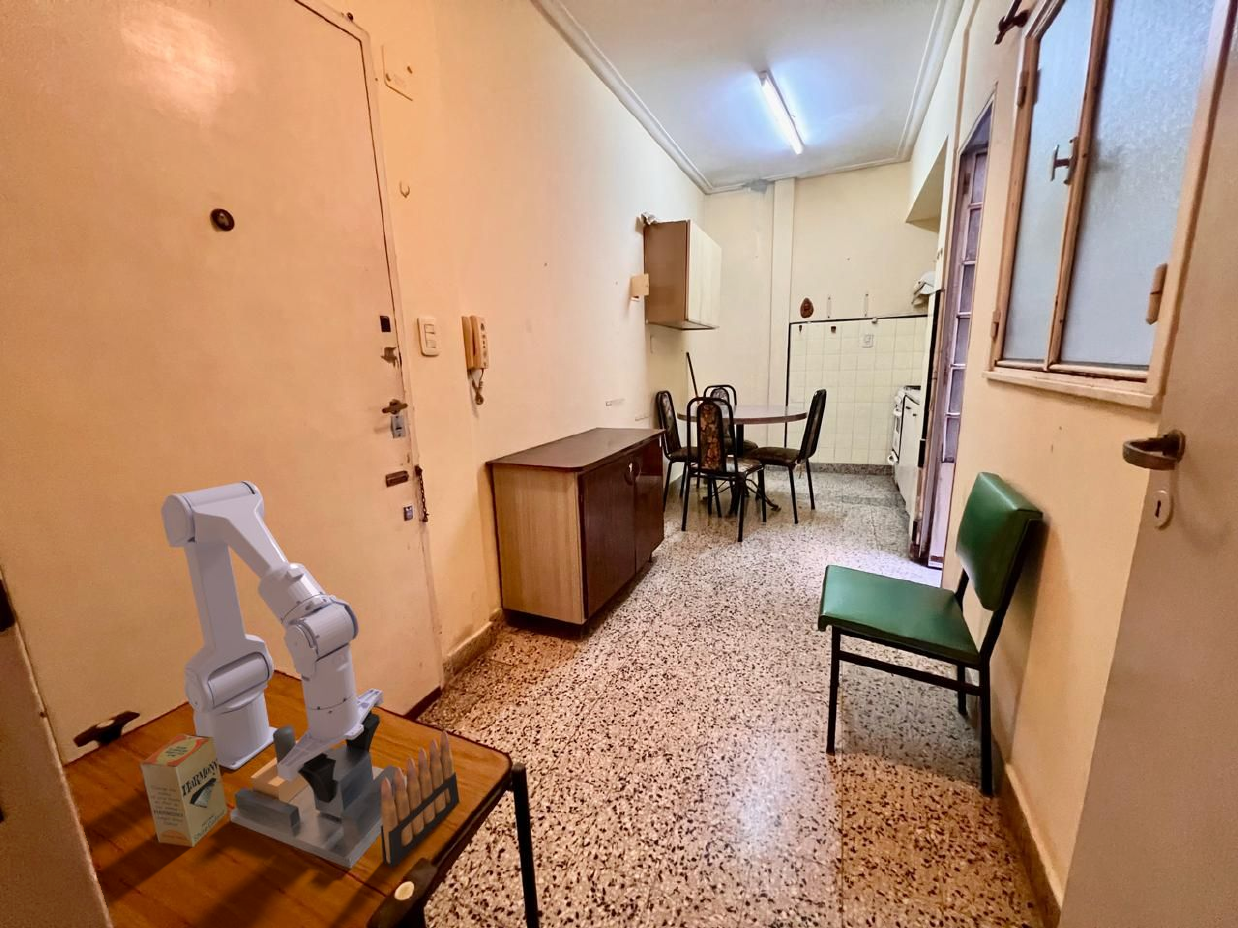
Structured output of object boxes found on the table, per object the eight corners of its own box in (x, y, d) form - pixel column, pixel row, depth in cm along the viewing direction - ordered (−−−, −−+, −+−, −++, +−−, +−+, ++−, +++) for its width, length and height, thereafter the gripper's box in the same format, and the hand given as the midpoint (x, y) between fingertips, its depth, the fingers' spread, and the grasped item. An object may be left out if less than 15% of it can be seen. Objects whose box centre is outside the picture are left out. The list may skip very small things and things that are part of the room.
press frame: (231, 821, 65) (225, 790, 64) (311, 754, 76) (307, 727, 75) (350, 868, 59) (346, 835, 58) (418, 788, 70) (415, 759, 69)
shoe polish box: (227, 811, 67) (213, 736, 64) (192, 846, 62) (175, 767, 59) (195, 807, 67) (180, 733, 65) (158, 842, 62) (140, 763, 60)
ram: (254, 798, 67) (244, 745, 65) (300, 759, 73) (293, 710, 72) (281, 808, 65) (272, 754, 64) (326, 767, 72) (318, 718, 70)
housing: (307, 806, 65) (301, 768, 64) (338, 776, 70) (333, 741, 69) (345, 819, 63) (339, 781, 62) (374, 788, 68) (370, 752, 67)
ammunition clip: (392, 868, 59) (382, 786, 57) (382, 861, 60) (372, 780, 58) (459, 801, 68) (454, 728, 66) (450, 795, 69) (444, 723, 67)
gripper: (303, 742, 55) (318, 839, 58) (396, 667, 69) (404, 749, 71) (258, 728, 57) (274, 822, 60) (357, 658, 71) (366, 738, 73)
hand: (342, 782), depth 66 cm, fingers closed on housing, 5 cm apart
